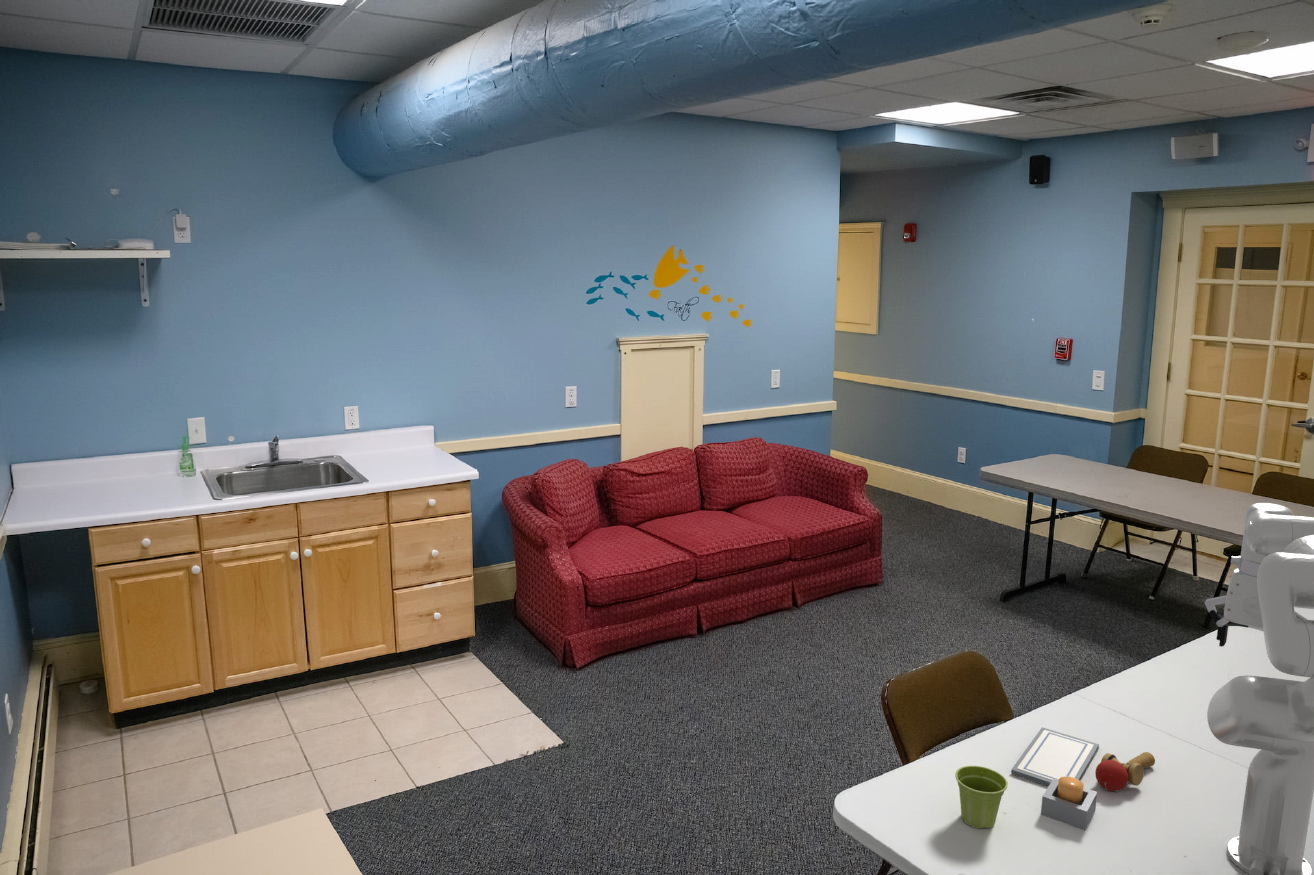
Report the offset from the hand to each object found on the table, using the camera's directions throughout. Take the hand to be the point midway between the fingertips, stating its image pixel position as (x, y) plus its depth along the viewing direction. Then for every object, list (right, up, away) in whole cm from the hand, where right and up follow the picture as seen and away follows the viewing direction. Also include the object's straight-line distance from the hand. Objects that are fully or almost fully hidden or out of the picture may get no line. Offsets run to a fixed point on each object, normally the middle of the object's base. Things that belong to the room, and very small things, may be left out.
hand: (1251, 651), depth 175 cm
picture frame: (-30, -28, +18) cm, 45 cm away
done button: (-36, -28, -1) cm, 46 cm away
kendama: (-19, -29, +11) cm, 37 cm away
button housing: (-36, -31, 0) cm, 48 cm away
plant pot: (-54, -32, -3) cm, 63 cm away
